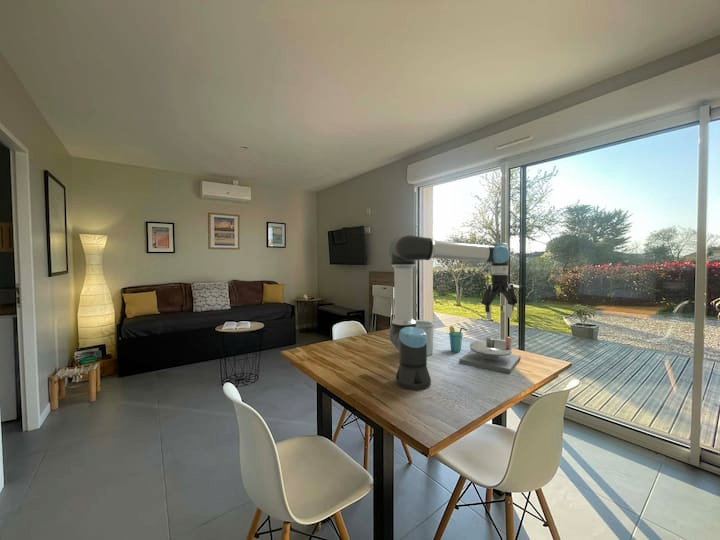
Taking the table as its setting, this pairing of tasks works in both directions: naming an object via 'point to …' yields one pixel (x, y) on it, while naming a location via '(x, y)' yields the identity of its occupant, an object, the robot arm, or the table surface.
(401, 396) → the table surface
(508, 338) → the handwheel
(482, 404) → the table surface
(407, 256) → the robot arm
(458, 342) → the cup
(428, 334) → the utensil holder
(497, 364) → the stand
